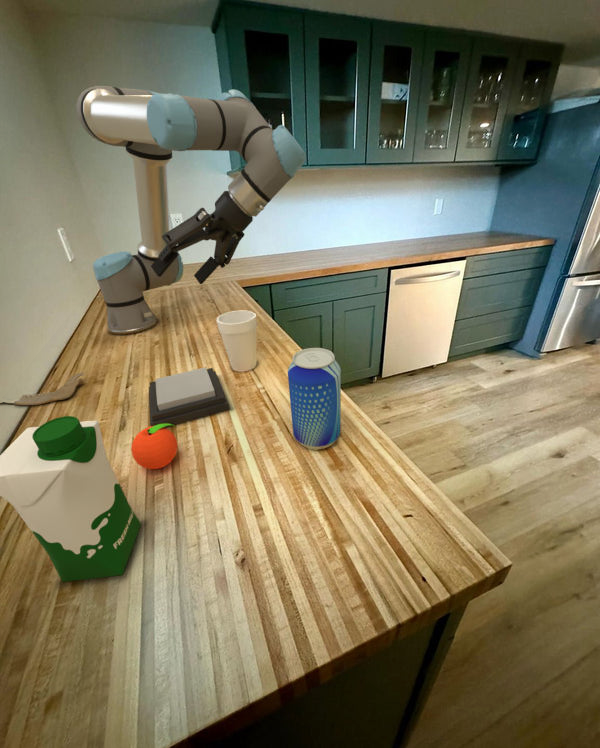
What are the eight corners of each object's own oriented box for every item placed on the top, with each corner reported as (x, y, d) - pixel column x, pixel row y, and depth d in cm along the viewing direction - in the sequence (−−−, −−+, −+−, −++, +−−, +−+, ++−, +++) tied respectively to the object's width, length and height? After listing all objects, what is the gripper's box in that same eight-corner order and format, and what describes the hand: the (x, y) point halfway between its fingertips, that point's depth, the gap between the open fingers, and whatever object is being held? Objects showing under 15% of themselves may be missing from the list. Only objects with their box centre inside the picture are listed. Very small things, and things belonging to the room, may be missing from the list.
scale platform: (157, 385, 74) (155, 378, 73) (207, 373, 78) (205, 367, 77) (159, 412, 65) (157, 404, 64) (216, 397, 69) (214, 390, 68)
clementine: (172, 440, 62) (162, 408, 58) (195, 455, 58) (185, 423, 54) (130, 466, 56) (116, 433, 53) (152, 485, 52) (138, 451, 49)
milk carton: (127, 582, 40) (56, 456, 30) (49, 591, 39) (-51, 467, 29) (150, 517, 47) (99, 400, 37) (84, 525, 47) (15, 408, 37)
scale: (150, 393, 76) (147, 381, 75) (216, 377, 81) (214, 366, 80) (152, 431, 64) (148, 418, 63) (229, 409, 69) (227, 397, 67)
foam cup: (255, 375, 80) (248, 324, 74) (219, 373, 82) (209, 324, 76) (266, 357, 88) (261, 310, 82) (233, 356, 90) (225, 309, 84)
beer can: (345, 425, 62) (345, 347, 54) (334, 457, 55) (333, 373, 47) (302, 418, 65) (296, 343, 57) (286, 447, 58) (278, 366, 50)
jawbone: (87, 396, 78) (84, 389, 76) (-22, 428, 70) (-28, 420, 69) (87, 377, 84) (84, 370, 83) (-13, 404, 77) (-18, 397, 75)
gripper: (214, 195, 56) (143, 282, 64) (277, 233, 79) (219, 293, 87) (189, 162, 57) (122, 252, 65) (259, 209, 80) (203, 271, 88)
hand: (178, 276), depth 76 cm, fingers open, 13 cm apart
